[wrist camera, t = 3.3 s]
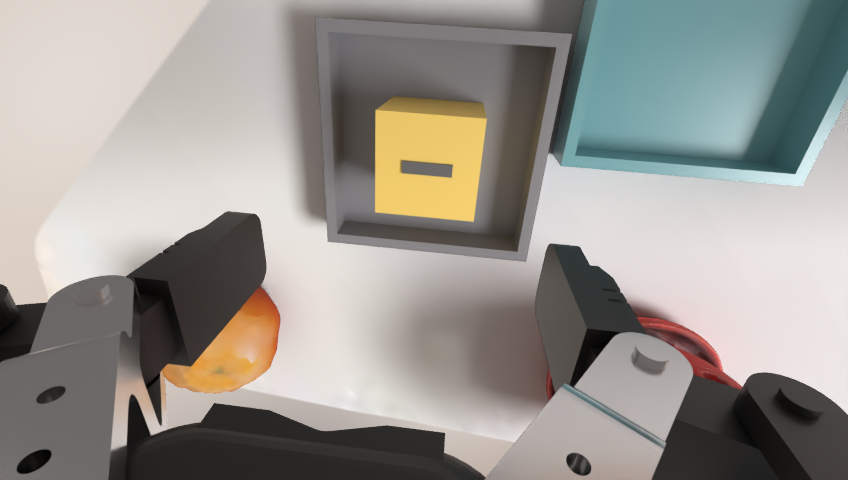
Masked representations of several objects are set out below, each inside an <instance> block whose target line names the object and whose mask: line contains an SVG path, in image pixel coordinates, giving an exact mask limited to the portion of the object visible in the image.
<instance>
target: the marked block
mask: <svg viewBox="0 0 848 480" xmlns="http://www.w3.org/2000/svg"><path fill="white" fill-rule="evenodd" d="M486 122H487V117H486V113H485V109H484V105H483V103H475V102H462V101H449V100H436V99H423V98H411V97H398V96H394V97H392V98H391V99H390V100H388V101H387V102H386V103H384V104H383V105H382V106H380V107H379V108H378V109H376V115H375V212H377V213H388V214H398V215H409V216H419V217H430V218H440V219H450V220H461V221H471V222H474V215H475V208H476V200H477V192H478V184H479V176H480V169H481V161H482V153H483V145H484V137H485V130H486Z"/></svg>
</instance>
